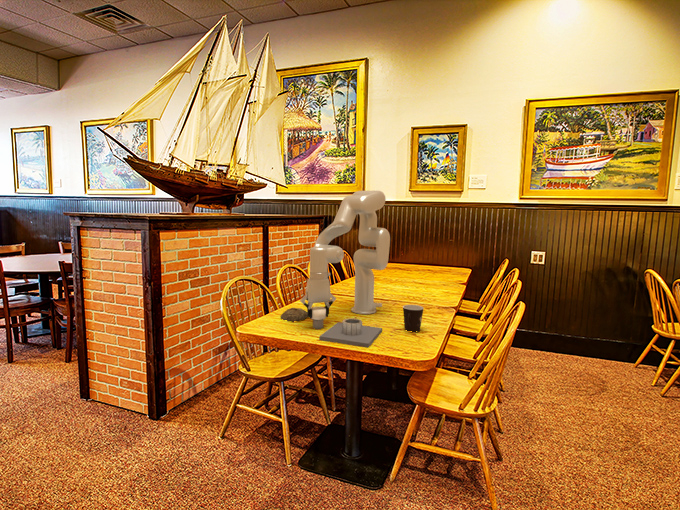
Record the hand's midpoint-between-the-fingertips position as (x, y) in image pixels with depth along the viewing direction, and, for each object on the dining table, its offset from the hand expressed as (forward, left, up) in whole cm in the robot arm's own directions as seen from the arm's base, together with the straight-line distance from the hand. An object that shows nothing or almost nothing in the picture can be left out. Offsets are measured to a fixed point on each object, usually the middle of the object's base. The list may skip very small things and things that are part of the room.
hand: (318, 316), depth 159 cm
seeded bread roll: (+6, -18, -5) cm, 20 cm away
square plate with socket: (-10, +14, -5) cm, 18 cm away
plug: (0, 0, -5) cm, 5 cm away
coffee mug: (-36, +16, -5) cm, 40 cm away
